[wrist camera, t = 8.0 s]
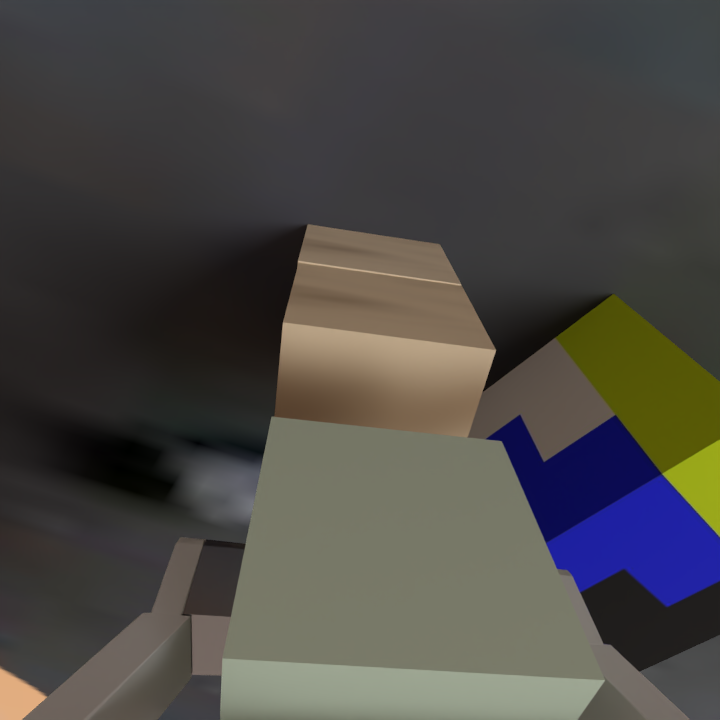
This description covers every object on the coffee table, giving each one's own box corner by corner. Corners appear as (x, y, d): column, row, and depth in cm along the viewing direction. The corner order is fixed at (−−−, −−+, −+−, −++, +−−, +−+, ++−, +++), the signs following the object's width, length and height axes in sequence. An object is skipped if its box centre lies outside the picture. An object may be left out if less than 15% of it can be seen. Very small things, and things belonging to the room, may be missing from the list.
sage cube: (447, 587, 13) (497, 833, 9) (258, 573, 13) (216, 827, 9) (501, 441, 11) (604, 680, 7) (271, 416, 11) (222, 659, 6)
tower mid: (426, 417, 22) (445, 504, 17) (284, 400, 21) (268, 486, 17) (461, 285, 19) (496, 350, 14) (298, 262, 18) (282, 322, 14)
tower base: (412, 358, 26) (425, 416, 21) (295, 343, 25) (284, 399, 21) (439, 244, 23) (461, 284, 19) (307, 224, 22) (297, 260, 18)
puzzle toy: (452, 414, 28) (500, 570, 19) (613, 293, 24) (759, 415, 16) (555, 506, 31) (634, 673, 23) (707, 412, 28) (869, 565, 19)
